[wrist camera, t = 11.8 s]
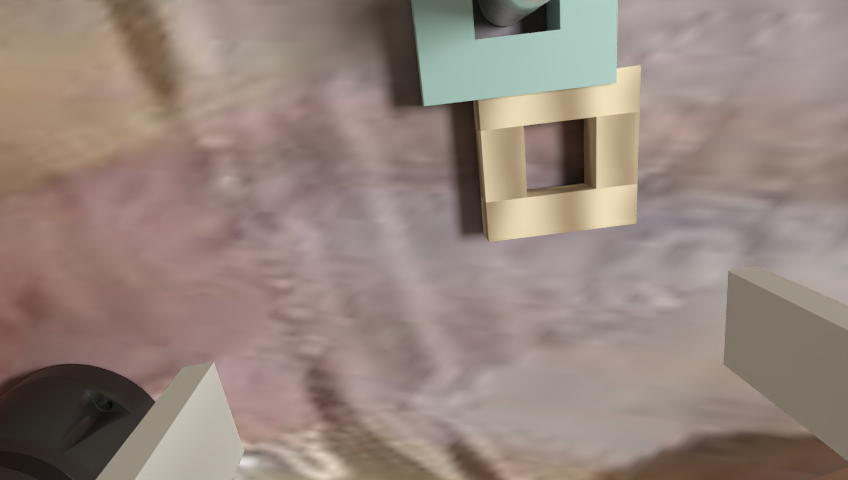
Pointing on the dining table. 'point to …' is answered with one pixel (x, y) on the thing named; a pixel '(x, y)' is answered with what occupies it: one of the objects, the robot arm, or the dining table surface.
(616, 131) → the mount
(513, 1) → the pin
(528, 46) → the dock
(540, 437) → the dining table surface
